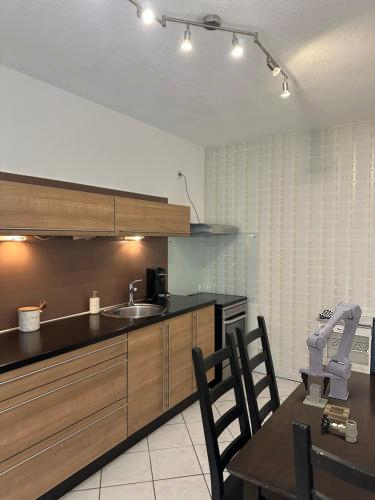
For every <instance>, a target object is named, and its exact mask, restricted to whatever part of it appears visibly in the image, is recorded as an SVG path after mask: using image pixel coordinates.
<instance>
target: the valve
mask: <svg viewBox="0 0 375 500" xmlns="http://www.w3.org/2000/svg"><path fill="white" fill-rule="evenodd" d="M327 417H328V415H327V414H323V415H322V417H321V423H320V431H321V432H323V433H324V432H327V430H329V429H330V428H332V429H335V430H338V431H339V433H342V434H344V433H345V434H344V435H345V436H344V437H345V440H346V441H347V442H348V443H357V438H358V437H357V436H358V429H357V427H358V426H357V425H358V424H357V421H354V420H352V419H348V420H347V421H346V422H345V424H343V423H340V424H337V423H334V422H333V423H332V421H331V419H330V418H327Z"/></svg>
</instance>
